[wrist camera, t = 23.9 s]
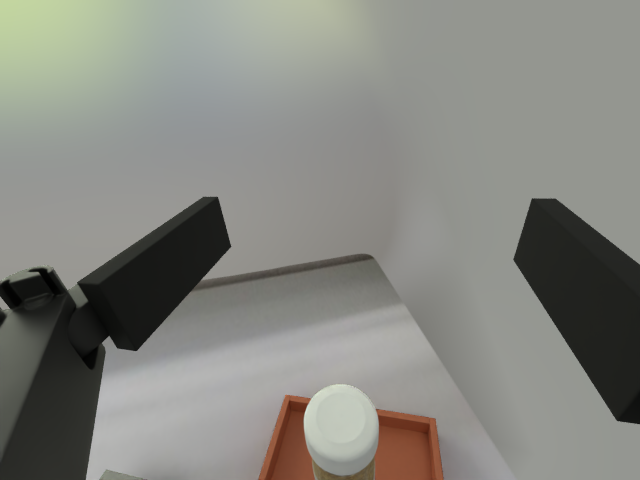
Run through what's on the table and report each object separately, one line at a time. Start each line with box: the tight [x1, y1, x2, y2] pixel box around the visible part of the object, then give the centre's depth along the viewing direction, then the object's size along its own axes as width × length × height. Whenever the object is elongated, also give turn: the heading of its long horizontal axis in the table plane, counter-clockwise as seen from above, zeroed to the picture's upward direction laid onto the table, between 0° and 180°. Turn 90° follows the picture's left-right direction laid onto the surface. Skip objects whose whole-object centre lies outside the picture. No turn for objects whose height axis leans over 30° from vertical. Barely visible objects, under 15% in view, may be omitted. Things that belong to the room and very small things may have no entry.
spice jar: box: [304, 384, 379, 480], centre depth 21 cm, size 5×5×13 cm
